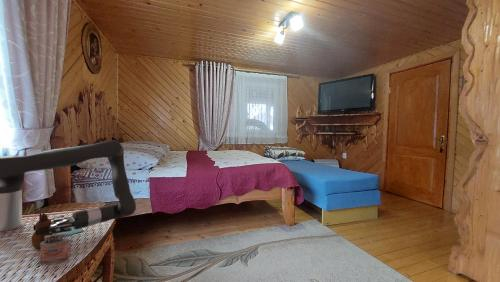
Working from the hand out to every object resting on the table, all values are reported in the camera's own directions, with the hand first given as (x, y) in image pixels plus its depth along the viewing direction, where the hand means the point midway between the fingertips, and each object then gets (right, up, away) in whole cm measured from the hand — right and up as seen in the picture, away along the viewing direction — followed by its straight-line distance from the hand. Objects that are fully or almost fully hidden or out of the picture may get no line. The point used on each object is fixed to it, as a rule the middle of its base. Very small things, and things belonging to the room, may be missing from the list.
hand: (34, 229), depth 86 cm
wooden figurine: (+1, -8, +3) cm, 9 cm away
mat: (-2, -7, +16) cm, 18 cm away
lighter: (+13, -9, -6) cm, 17 cm away
